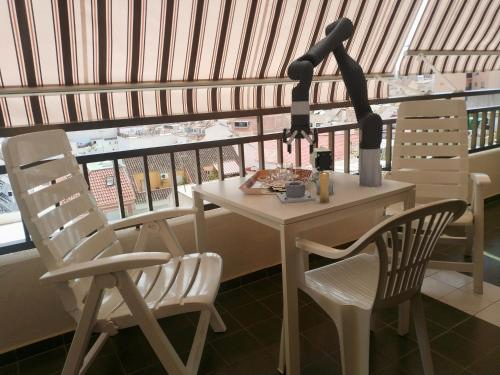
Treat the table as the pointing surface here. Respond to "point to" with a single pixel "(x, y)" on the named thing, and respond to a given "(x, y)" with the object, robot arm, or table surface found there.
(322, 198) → the cylinder
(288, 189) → the flange coupling
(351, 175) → the table surface
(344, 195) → the table surface
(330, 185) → the grey wide stub
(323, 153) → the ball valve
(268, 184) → the plant saucer
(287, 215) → the table surface
